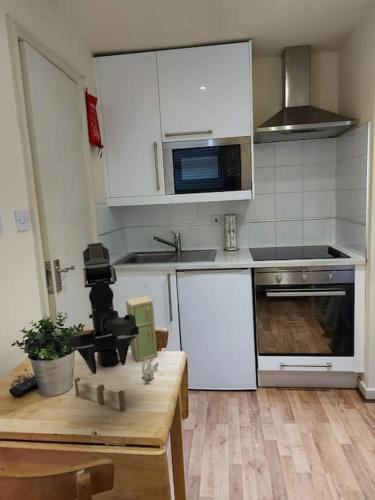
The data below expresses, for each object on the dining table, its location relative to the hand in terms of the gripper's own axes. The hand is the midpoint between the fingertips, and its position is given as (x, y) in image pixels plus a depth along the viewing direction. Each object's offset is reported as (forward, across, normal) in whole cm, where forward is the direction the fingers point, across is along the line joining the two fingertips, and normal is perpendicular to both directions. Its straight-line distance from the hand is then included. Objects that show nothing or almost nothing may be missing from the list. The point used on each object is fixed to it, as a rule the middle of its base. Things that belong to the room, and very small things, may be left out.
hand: (109, 369), depth 90 cm
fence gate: (+9, +3, +15) cm, 18 cm away
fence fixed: (+12, +5, +7) cm, 14 cm away
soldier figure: (+8, +22, +9) cm, 25 cm away
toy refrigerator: (+3, +30, +19) cm, 36 cm away
